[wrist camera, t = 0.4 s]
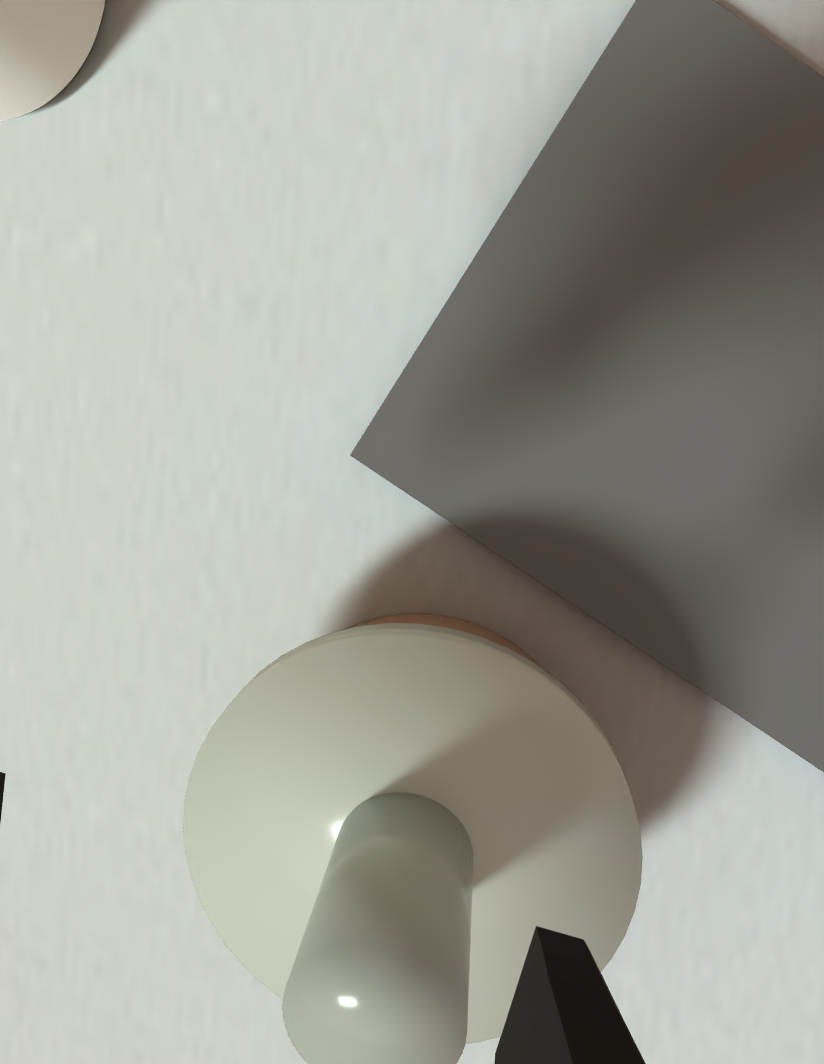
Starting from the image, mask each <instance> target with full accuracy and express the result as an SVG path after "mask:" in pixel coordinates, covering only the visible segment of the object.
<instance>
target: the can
mask: <svg viewBox="0 0 824 1064" xmlns="http://www.w3.org/2000/svg"><path fill="white" fill-rule="evenodd" d="M104 5H105V0H0V121H4V120H9V119H13V118H17V117H20V116H22V115H25V114H27V113H30V112H32V111H34V110H36V109H37V108H39V107H41V106H42V105H44V104H46V103H47V102H48V101H50V100H51V99H52V98H54V97H55V96H56V95H57V94H58V93H59V92H61V91H62V90H63V89H64V88H65V87H66V85H67V84H68V83H69V82H70V81H71V80H72V79H73V77H74V76H75V75H76V73H77V72H78V71H79V69H80V68H81V66H82V65H83V63H84V61H85V60H86V58H87V56H88V54H89V52H90V50H91V48H92V45H93V43H94V41H95V38H96V35H97V33H98V30H99V26H100V23H101V19H102V15H103V11H104Z"/></svg>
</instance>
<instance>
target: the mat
mask: <svg viewBox="0 0 824 1064" xmlns="http://www.w3.org/2000/svg"><path fill="white" fill-rule="evenodd" d="M350 456H352V457H353V458H355V459H356V460H358V461H359V462H361V463H362V464H364V465H365V466H367V467H368V468H370V469H371V470H373V471H374V472H376V473H377V474H379V475H380V476H382V477H383V478H385V479H386V480H388V481H389V482H391V483H392V484H394V485H395V486H397V487H398V488H400V489H401V490H403V491H404V492H406V493H407V494H409V495H410V496H412V497H413V498H415V499H416V500H418V501H419V502H421V503H422V504H424V505H425V506H427V507H428V508H430V509H431V510H433V511H434V512H436V513H437V514H439V515H440V516H442V517H443V518H445V519H446V520H448V521H449V522H451V523H452V524H454V525H455V526H457V527H458V528H460V529H461V530H463V531H464V532H466V533H467V534H469V535H470V536H472V537H473V538H475V539H476V540H478V541H479V542H480V543H482V544H483V545H485V546H486V547H488V548H489V549H491V550H492V551H494V552H495V553H497V554H498V555H500V556H501V557H503V558H504V559H506V560H507V561H509V562H510V563H512V564H513V565H515V566H516V567H518V568H519V569H521V570H522V571H524V572H525V573H527V574H528V575H530V576H531V577H533V578H534V579H536V580H537V581H539V582H540V583H542V584H543V585H545V586H546V587H548V588H549V589H551V590H552V591H554V592H555V593H557V594H558V595H560V596H561V597H563V598H564V599H566V600H567V601H569V602H570V603H572V604H573V605H575V606H576V607H578V608H579V609H581V610H582V611H584V612H585V613H587V614H588V615H590V616H591V617H593V618H594V619H596V620H597V621H599V622H600V623H602V624H603V625H605V626H606V627H608V628H609V629H611V630H612V631H614V632H615V633H617V634H618V635H619V636H621V637H622V638H624V639H625V640H627V641H628V642H630V643H631V644H633V645H634V646H636V647H637V648H639V649H640V650H642V651H643V652H645V653H646V654H648V655H649V656H651V657H652V658H654V659H655V660H657V661H658V662H660V663H661V664H663V665H664V666H666V667H667V668H669V669H670V670H672V671H673V672H675V673H676V674H678V675H679V676H681V677H682V678H684V679H685V680H687V681H688V682H690V683H691V684H693V685H694V686H696V687H697V688H699V689H700V690H702V691H703V692H705V693H706V694H708V695H709V696H711V697H712V698H714V699H715V700H717V701H718V702H720V703H721V704H723V705H724V706H726V707H727V708H729V709H730V710H732V711H733V712H735V713H736V714H738V715H739V716H741V717H742V718H744V719H745V720H747V721H748V722H750V723H751V724H753V725H754V726H755V727H757V728H758V729H760V730H761V731H763V732H764V733H766V734H767V735H769V736H770V737H772V738H773V739H775V740H776V741H778V742H779V743H781V744H782V745H784V746H785V747H787V748H788V749H790V750H791V751H793V752H794V753H796V754H797V755H799V756H800V757H802V758H803V759H805V760H806V761H808V762H809V763H811V764H812V765H814V766H815V767H817V768H818V769H820V770H821V771H823V772H824V77H823V76H822V75H820V74H819V73H818V72H816V71H815V70H813V69H812V68H810V67H809V66H807V65H806V64H805V63H803V62H802V61H800V60H799V59H797V58H796V57H794V56H793V55H792V54H790V53H789V52H787V51H786V50H784V49H783V48H781V47H780V46H779V45H777V44H776V43H774V42H773V41H771V40H770V39H769V38H767V37H766V36H764V35H763V34H761V33H760V32H758V31H757V30H756V29H754V28H753V27H751V26H750V25H748V24H747V23H745V22H744V21H743V20H741V19H740V18H738V17H737V16H735V15H734V14H732V13H731V12H730V11H728V10H727V9H725V8H724V7H722V6H721V5H720V4H718V3H717V2H715V1H714V0H636V1H635V3H634V4H633V6H632V8H631V9H630V11H629V12H628V14H627V16H626V17H625V19H624V20H623V22H622V24H621V25H620V27H619V28H618V30H617V31H616V33H615V35H614V36H613V38H612V39H611V41H610V43H609V44H608V46H607V47H606V49H605V51H604V52H603V54H602V55H601V57H600V59H599V60H598V62H597V63H596V65H595V66H594V68H593V70H592V71H591V73H590V74H589V76H588V78H587V79H586V81H585V82H584V84H583V86H582V87H581V89H580V90H579V92H578V94H577V95H576V97H575V98H574V100H573V101H572V103H571V105H570V106H569V108H568V109H567V111H566V113H565V114H564V116H563V117H562V119H561V121H560V122H559V124H558V125H557V127H556V128H555V130H554V132H553V133H552V135H551V136H550V138H549V140H548V141H547V143H546V144H545V146H544V148H543V149H542V151H541V152H540V154H539V156H538V157H537V159H536V160H535V162H534V163H533V165H532V167H531V168H530V170H529V171H528V173H527V175H526V176H525V178H524V179H523V181H522V183H521V184H520V186H519V187H518V189H517V191H516V192H515V194H514V195H513V197H512V198H511V200H510V202H509V203H508V205H507V206H506V208H505V210H504V211H503V213H502V214H501V216H500V218H499V219H498V221H497V222H496V224H495V226H494V227H493V229H492V230H491V232H490V233H489V235H488V237H487V238H486V240H485V241H484V243H483V245H482V246H481V248H480V249H479V251H478V253H477V254H476V256H475V257H474V259H473V261H472V262H471V264H470V265H469V267H468V268H467V270H466V272H465V273H464V275H463V276H462V278H461V280H460V281H459V283H458V284H457V286H456V288H455V289H454V291H453V292H452V294H451V296H450V297H449V299H448V300H447V302H446V303H445V305H444V307H443V308H442V310H441V311H440V313H439V315H438V316H437V318H436V319H435V321H434V323H433V324H432V326H431V327H430V329H429V331H428V332H427V334H426V335H425V337H424V338H423V340H422V342H421V343H420V345H419V346H418V348H417V350H416V351H415V353H414V354H413V356H412V358H411V359H410V361H409V362H408V364H407V365H406V367H405V369H404V370H403V372H402V373H401V375H400V377H399V378H398V380H397V381H396V383H395V385H394V386H393V388H392V389H391V391H390V393H389V394H388V396H387V397H386V399H385V400H384V402H383V404H382V405H381V407H380V408H379V410H378V412H377V413H376V415H375V416H374V418H373V420H372V421H371V423H370V424H369V426H368V428H367V429H366V431H365V432H364V434H363V435H362V437H361V439H360V440H359V442H358V443H357V445H356V447H355V448H354V450H353V451H352V453H351V455H350Z"/></svg>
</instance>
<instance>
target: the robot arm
mask: <svg viewBox="0 0 824 1064" xmlns="http://www.w3.org/2000/svg"><path fill="white" fill-rule="evenodd" d="M4 782H5V773H1V772H0V821H1V811H2V802H3V792H4ZM495 1064H646V1063H645V1062H644V1060H643V1058H642V1056H641V1054H640V1052H639V1050H638V1048H637V1046H636V1044H635V1042H634V1040H633V1038H632V1036H631V1034H630V1032H629V1030H628V1028H627V1026H626V1024H625V1022H624V1020H623V1018H622V1016H621V1014H620V1012H619V1009H618V1007H617V1005H616V1003H615V1001H614V999H613V997H612V995H611V993H610V991H609V989H608V987H607V985H606V983H605V981H604V978H603V976H602V974H601V972H600V970H599V968H598V966H597V964H596V962H595V960H594V958H593V956H592V954H591V952H590V950H589V948H588V946H587V944H586V942H585V941H584V939H580V938H577V937H573V936H570V935H566V934H563V933H559V932H556V931H552V930H549V929H545V928H542V927H538V926H536V928H535V931H534V934H533V937H532V940H531V943H530V946H529V950H528V953H527V956H526V959H525V962H524V965H523V968H522V972H521V975H520V978H519V981H518V984H517V987H516V990H515V994H514V997H513V1000H512V1003H511V1006H510V1009H509V1012H508V1015H507V1019H506V1022H505V1025H504V1028H503V1031H502V1034H501V1037H500V1041H499V1044H498V1047H497V1050H496V1053H495Z"/></svg>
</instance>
